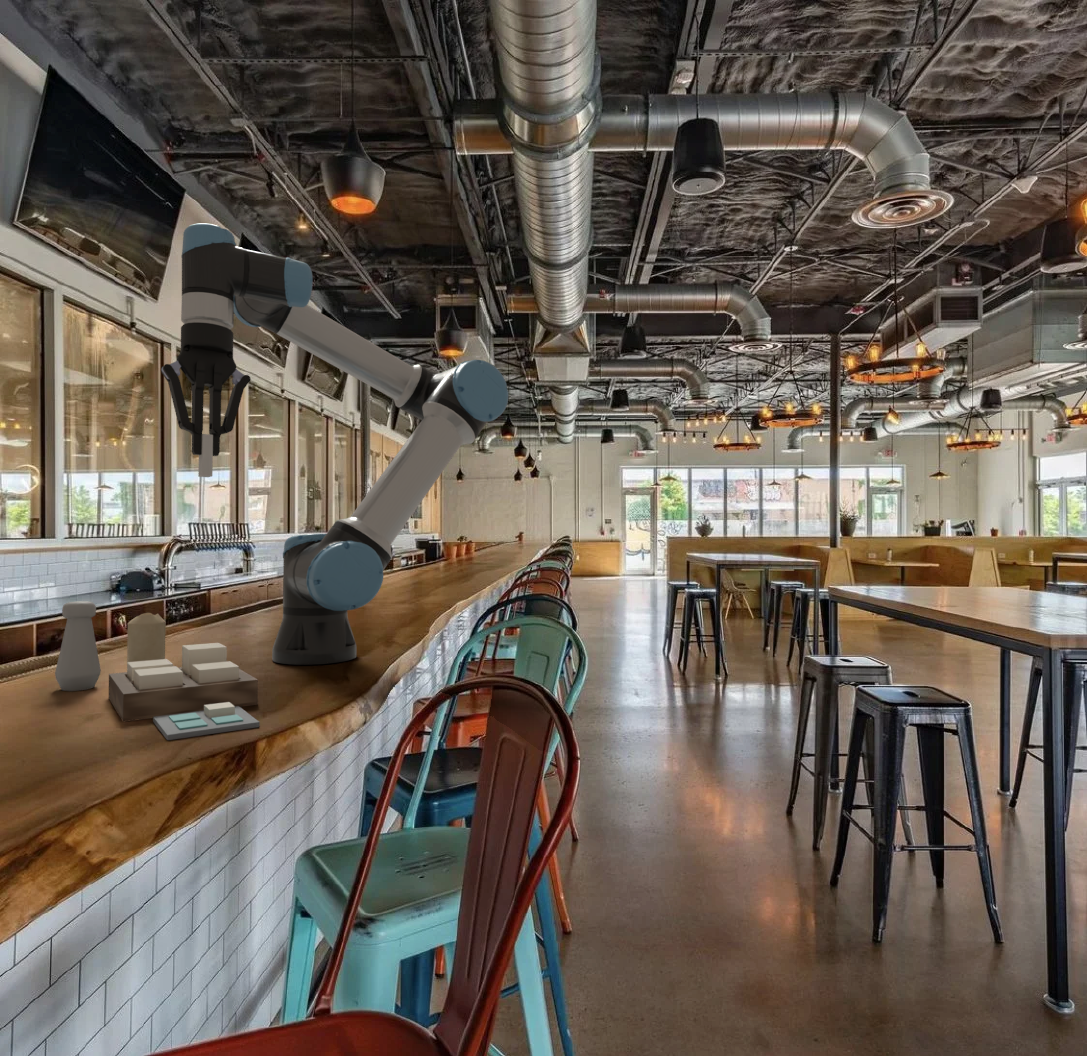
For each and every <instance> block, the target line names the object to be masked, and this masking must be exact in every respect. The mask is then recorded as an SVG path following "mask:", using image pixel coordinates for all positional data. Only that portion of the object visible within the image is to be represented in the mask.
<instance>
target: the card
mask: <svg viewBox="0 0 1087 1056" xmlns="http://www.w3.org/2000/svg"><path fill="white" fill-rule="evenodd" d="M152 723H153V724H154V725H155V726H156V728H157V729H158V731H160V733H161V734H162V735H163V737H164V738H165V740H167V741H172V740H179V739H185V738H192V737H200V736H207V735H212V734H213V735H214V734H219V733H227V732H232V731H240V730H241V731H242V730H248V729H253V728H254V729H255V728H259V727H260V721H259V720H258V719H256V718H255V717H254V716H252V715H251V714H250V713H248V712H247V711H246V710H244V709H243V708H242V707H239V706H234V705H232V704H231V703H230V702H225V703H217V704H208V705H204V710H202V711H194V712H186V713H178V714H171V715H163V716H155V717H153V718H152Z"/></svg>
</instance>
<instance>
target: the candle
mask: <svg viewBox="0 0 1087 1056" xmlns="http://www.w3.org/2000/svg"><path fill="white" fill-rule="evenodd" d="M166 623H167V622H166V621H165V620H164V619H163V618H162V616H161V615H160V614H159V613H156V614H153V613H151V612H145V613H141V614H140V615H137V616H136V617H134V618H133V619H131V620H129V621H128V623H127V642H126V643H127V646H126V647H127V651H126V653H127V654H126V658H127V659H126V663H127V662H137V661H148V660H160V659H166V626H167V625H166Z"/></svg>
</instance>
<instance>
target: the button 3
mask: <svg viewBox="0 0 1087 1056" xmlns="http://www.w3.org/2000/svg"><path fill="white" fill-rule="evenodd" d="M239 669H240V666H239V665H237V664H236V663H234V662H232V661H230V660H227V662H216V663H205V664H194V665H192V680H193V681H194V682H196V683H197V684H199V683H209V682H218V681H228V680H237V679H239Z"/></svg>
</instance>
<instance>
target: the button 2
mask: <svg viewBox="0 0 1087 1056" xmlns="http://www.w3.org/2000/svg"><path fill="white" fill-rule="evenodd" d="M180 685H183V671H181V670H180V669H179V668H178V666H177V665H176V666H175V665H173V666H172V667H160V668H149V669H138V670H134V687H135V688H136V689H137V690H143V689H152V688H162V687H171V686H180Z"/></svg>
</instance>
